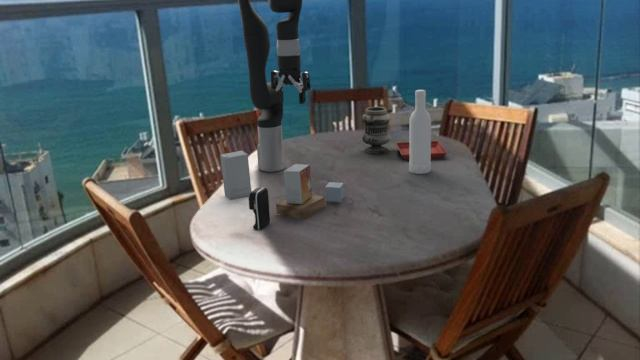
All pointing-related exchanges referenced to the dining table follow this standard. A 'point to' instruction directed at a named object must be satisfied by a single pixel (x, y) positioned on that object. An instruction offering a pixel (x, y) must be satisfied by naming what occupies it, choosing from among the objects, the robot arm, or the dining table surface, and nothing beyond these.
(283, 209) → the walnut slab
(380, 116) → the apothecary jar
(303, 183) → the small box
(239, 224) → the dining table surface
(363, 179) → the dining table surface
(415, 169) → the bottle
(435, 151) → the plant saucer
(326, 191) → the blue-grey cube
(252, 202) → the battery charger
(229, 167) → the skincare box
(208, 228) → the dining table surface
